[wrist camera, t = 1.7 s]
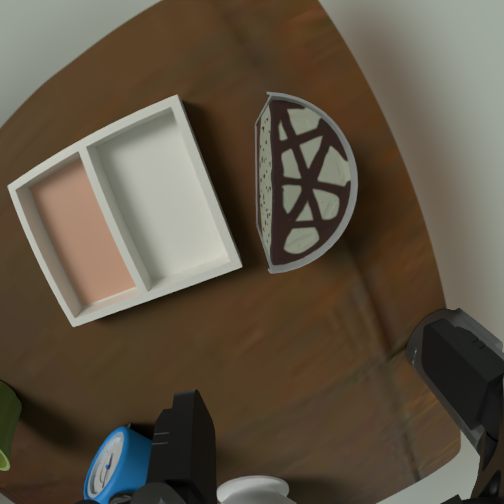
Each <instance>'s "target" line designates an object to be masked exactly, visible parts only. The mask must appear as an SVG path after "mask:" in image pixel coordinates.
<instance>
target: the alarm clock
mask: <svg viewBox="0 0 504 504" xmlns="http://www.w3.org/2000/svg"><path fill="white" fill-rule="evenodd" d="M130 425H131V423H130V422H129V423H128V424H127V426H121V427H119V428H117V429H115V430H114V431H113V432H112V433H111V434H110V435H109V436H108V437H107V438H106V440H105V441H104V442H103V444H102V445H101V447H100V448H99V450H98V452H97V453H96V455H95V457H94V459H93V461H92V463H91V466H90V468H89V471H88V474H87V477H86V480H85V485H84V499H91V500H95V501H97V502H99V503H100V504H118V503H122V502H126V501H128V500H131V498H132V496H133V494H134V493H135V492H136V491H137V490H138V489H139V488H140V487H142V486H143V485H145V483H146V478H147V472H148V465H149V459H150V453H151V447H152V446H153V444H152V440H150V439H148V438H146V437H144V436H143V435H141V434H139V433H137V432H135V431H134V430H132V429H130Z"/></svg>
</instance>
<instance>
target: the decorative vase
mask: <svg viewBox="0 0 504 504" xmlns="http://www.w3.org/2000/svg"><path fill="white" fill-rule="evenodd" d="M288 493H289V486H288V484H287V483H286V482H285V481H284V480H282V479H280V478H277V477H273V476H264V475H255V476H245V477H240V478H236V479H232V480H230V481H227V482H225V483H224V484H222V485H221V486H220V487H219V488H218V489H217V498H218V500H219V501H220V502H222V503H221V504H297V503H295V502H294V501H292V500H291V499H289V498H287V497H286V496H287V495H288Z"/></svg>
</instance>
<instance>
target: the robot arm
mask: <svg viewBox="0 0 504 504" xmlns="http://www.w3.org/2000/svg"><path fill="white" fill-rule="evenodd" d="M502 347H503V345H502V342H501V341H500V340H499V339H498V338H496V337H495V336H494V335H493V334H492V333H490V332H489V331H488V330H487V329H485V328H484V327H483V326H482V325H481V324H479V323H478V322H477V321H476V320H474V319H473V318H472V317H470V316H469V315H468V314H467V313H465V312H464V311H463V310H461V309H460V308H458V309H456V310H450V309H442V310H438V311H436V312H434V313H432V314H430V315H429V316H427V317H426V318H425V319H424V320H423V321H422V322H420V323H419V325H418V326H417V327H416V328H415V330H414V331H413V333H412V335H411V336H410V339H409V341H408V344H407V348H406V356H407V360H408V362H409V363H410V365H411V366H412V367H413V369H414V370H415V371H416V373H418V375H419V376H420V377H421V378H422V380H423V381H424V382H425V384H426V385H427V386H428V387H429V389H430V390H431V391H432V392H433V394H434V395H435V396H436V398H437V399H438V400H439V401H440V403H441V404H442V405H443V407H444V408H445V409H446V411H447V412H448V413H449V415H450V416H451V417H452V418H453V420H454V421H455V422H456V424H457V425H458V426H459V428H460V429H461V430H462V432H463V433H464V434H465V436H466V437H467V438H468V440H469V441H470V443H471V444H472V445H473V447H474V448H475V449H476V451H477V452H478V454H479V455H480V463H479V470H478V476H477V480H476V483H475V486H474V488H473V491H472V494H471V497H470V499H466V500H461V499H460V497H459V495H458V494H457V495H456V496H454V497H452V498H450V499H449V500H447V501H445V502H443V503H441V504H504V353H503V352H502ZM152 444H153V446H152V447H151V453H150V459H149V465H148V472H147V478H146V483H145V485H143V486H142V487H140V488H139V489H138V490H137V491H136V492H135V493H134V494H133V496H132V498H131V500H128V501H126V502H122V503H118V504H217V486H216V446H215V429H214V424H213V421H212V418H211V416H210V414H209V412H208V410H207V408H206V406H205V404H204V401H203V399H202V397H201V395H200V393H199V391H198V390H190V391H184V392H178V393H175V395H174V399H173V406H172V408H171V409H164V410H163V411H162V413H161V414H160V416H159V417H158V419H157V420H156V424H155V429H154V436H153V441H152ZM75 504H100V503H99V502H97V501H95V500H91V499H85V500H81V501H79V502H77V503H75Z"/></svg>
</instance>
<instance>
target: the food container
mask: <svg viewBox="0 0 504 504" xmlns="http://www.w3.org/2000/svg"><path fill="white" fill-rule="evenodd" d="M267 94H269V95H270V97H269V99H268V100H267V102H266V104H265V106H264V108H263V110H262V111H261V113H260V115H259V117H258V119H257V121H256V123H255V169H256V226H257V229H258V232H259V235H260V238H261V241H262V244H263V247H264V251H265V254H266V257H267V260H268V263H269V266H270V268H268V271H269V272H270V273H271V274H273V273H280V272H286V271H290V270H293V269H297V268H300V267H302V266H304V265H306V264H309V263H311V262H312V261H314V260H315V259H317V258H318V257H320V256H322V255H323V254H324V253H325V252H326V251H327V250H328V249H330V248H331V247H332V246H333V245H334V243H335V242H336V241H337V240H338V239H339V238H340V236H341V235H342V233H343V232H344V230H345V228H346V227H347V225H348V223H349V221H350V218H351V216H352V214H353V211H354V207H355V203H356V199H357V190H358V173H357V167H356V162H355V158H354V155H353V152H352V149H351V146H350V144H349V142H348V141H347V139H346V137H345V135H344V133H343V132H342V131H341V129H340V128H339V127H338V125H337V124H336V123H335V122H334V121H333V120H332V119H331V118H330V117H329V116H328V115H327V114H326V113H325V112H324V111H322V110H321V109H319V108H318V107H316V106H315V105H313V104H311V103H309V102H307V101H305V100H303V99H301V98H298V97H295V96H291V95H287V94H283V93H274V92H267Z"/></svg>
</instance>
